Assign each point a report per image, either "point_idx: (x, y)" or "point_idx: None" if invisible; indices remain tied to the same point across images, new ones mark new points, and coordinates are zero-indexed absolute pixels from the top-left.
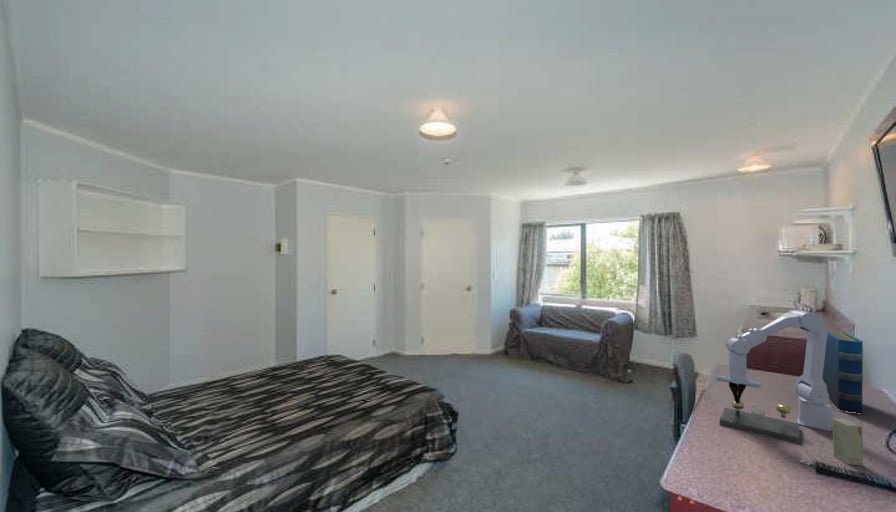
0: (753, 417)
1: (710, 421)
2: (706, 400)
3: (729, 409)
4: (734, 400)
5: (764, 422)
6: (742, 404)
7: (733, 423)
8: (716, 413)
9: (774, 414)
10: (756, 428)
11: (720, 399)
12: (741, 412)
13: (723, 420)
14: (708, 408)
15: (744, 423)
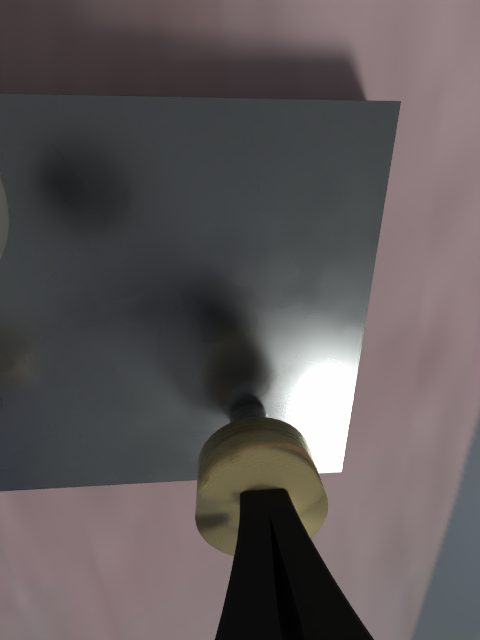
0: (121, 404)
1: (447, 137)
2: (428, 558)
3: None
4: None
5: (13, 342)
6: (203, 485)
7: (255, 102)
8: (383, 383)
9: (70, 590)
10: (18, 97)
11: None
12: None
13: (358, 103)
14: (430, 442)
15: (151, 157)
